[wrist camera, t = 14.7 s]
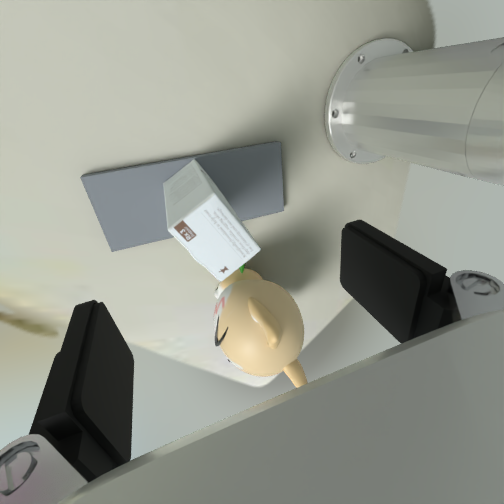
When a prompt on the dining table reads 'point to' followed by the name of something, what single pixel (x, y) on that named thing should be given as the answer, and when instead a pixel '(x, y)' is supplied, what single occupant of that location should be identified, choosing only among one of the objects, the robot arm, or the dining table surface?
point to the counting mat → (155, 174)
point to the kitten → (259, 326)
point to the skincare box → (206, 222)
